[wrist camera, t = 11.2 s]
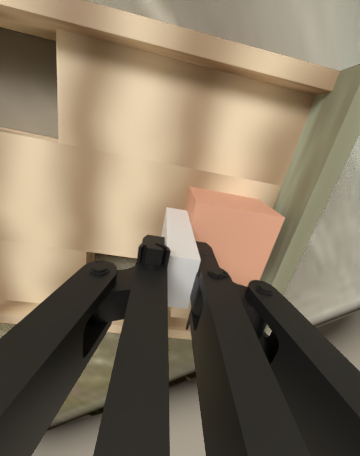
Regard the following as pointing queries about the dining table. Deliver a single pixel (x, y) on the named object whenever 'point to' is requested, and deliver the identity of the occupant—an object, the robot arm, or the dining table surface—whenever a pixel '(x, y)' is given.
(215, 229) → the block
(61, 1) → the box
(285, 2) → the dining table surface
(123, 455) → the robot arm
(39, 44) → the dining table surface
